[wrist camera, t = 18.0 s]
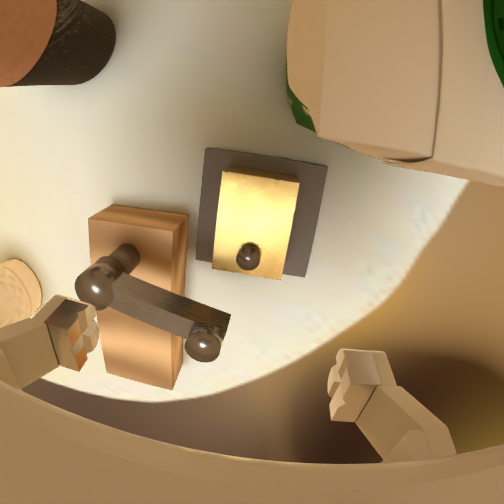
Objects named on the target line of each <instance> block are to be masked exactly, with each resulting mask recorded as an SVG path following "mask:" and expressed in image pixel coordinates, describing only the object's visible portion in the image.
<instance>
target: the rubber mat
mask: <svg viewBox="0 0 504 504" xmlns="http://www.w3.org/2000/svg"><path fill="white" fill-rule="evenodd" d="M229 165H231V166H238V167H245V168H252V169H259V170H265V171H271V172H277V173H283V174H289V175H295V176H298V180H299V189H298V195H297V200H296V205H295V211H294V216H293V221H292V227H291V232H290V237H289V242H288V247H287V252H286V257H285V262H284V267H283V272H282V274H287V275H293V276H300V277H305V274H306V270H307V265H308V261H309V256H310V252H311V247H312V243H313V238H314V233H315V229H316V224H317V219H318V214H319V209H320V204H321V199H322V194H323V189H324V184H325V178H326V173H327V168H328V167H327V166H323V165H318V164H312V163H307V162H301V161H295V160H289V159H283V158H277V157H270V156H264V155H257V154H250V153H243V152H235V151H227V150H219V149H210V148H206V149H205V158H204V167H203V177H202V187H201V198H200V209H199V221H198V233H197V247H196V260H201V261H207V262H212V261H213V251H214V241H215V232H216V223H217V214H218V205H219V196H220V187H221V179H222V171H223V170H225V169H226V168H227V167H228V166H229Z"/></svg>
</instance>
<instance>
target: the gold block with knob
mask: <svg viewBox="0 0 504 504" xmlns="http://www.w3.org/2000/svg"><path fill="white" fill-rule="evenodd" d="M298 189H299V180H298V176H295V175H289V174H283V173H277V172H271V171H265V170H259V169H252V168H245V167H238V166H231V165H229V166H228V167H227V168H226V169H225V170H223V171H222V179H221V187H220V196H219V205H218V214H217V223H216V232H215V241H214V251H213V261H212V269H218V270H224V271H230V272H235V273H241V274H247V275H253V276H259V277H265V278H271V279H278V280H281V277H282V272H283V267H284V262H285V257H286V252H287V247H288V242H289V237H290V232H291V227H292V221H293V216H294V211H295V205H296V200H297V195H298Z"/></svg>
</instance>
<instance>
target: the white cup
mask: <svg viewBox="0 0 504 504" xmlns="http://www.w3.org/2000/svg"><path fill="white" fill-rule="evenodd" d="M41 299H42V293H41V289H40V284H39V282H38V280H37V278H36V277H35V275H34V273H33V271H32V270H31V269H30V268H29V267H28V266H27V265H26V264H25V263H23V262H21V261H19V260H17V259H10V260H7V261H5V262H4V263H2V264H0V328H2V327H4V326H7V325H10V324H13V323H16V322H18V321H21V320H24V319H27V318H29V317H30V316H31V314H32V313H33V312H34V311H35V310H36V309H37V308H38V307H39V306H40V305H41Z"/></svg>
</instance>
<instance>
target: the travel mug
mask: <svg viewBox="0 0 504 504" xmlns="http://www.w3.org/2000/svg"><path fill="white" fill-rule="evenodd" d="M114 45H115V28H114V25H113V23H112V21H111V19H110V18H109V17H108V16H107V15H106V14H104V13H103V12H101V11H99V10H98V9H96V8H94V7H92V6H90V5H88V4H86V3H85V2H83V1H81V0H0V87H10V86H31V85H76V84H81V83H84V82H86V81H88V80H90V79H92V78H93V77H94V76H96V75H97V74H98V73H99V72H100V71H101V70H102V69H103V68H104V66H105V65H106V63H107V62H108V60H109V58H110V56H111V54H112V52H113V49H114Z"/></svg>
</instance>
